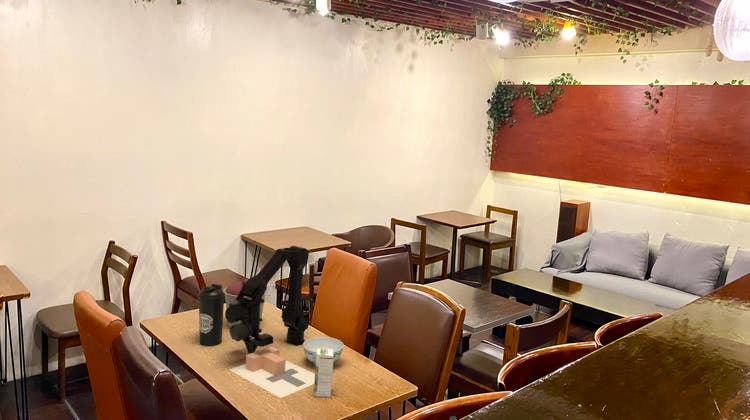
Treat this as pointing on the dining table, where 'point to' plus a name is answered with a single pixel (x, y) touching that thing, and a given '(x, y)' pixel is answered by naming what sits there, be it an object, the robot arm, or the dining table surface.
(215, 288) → the water bottle
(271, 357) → the t block
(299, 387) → the mat
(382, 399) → the dining table surface
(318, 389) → the syrup box
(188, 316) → the dining table surface
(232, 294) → the canister
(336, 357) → the chinaware
